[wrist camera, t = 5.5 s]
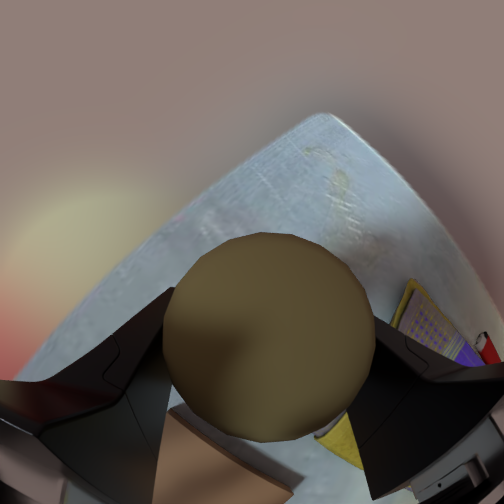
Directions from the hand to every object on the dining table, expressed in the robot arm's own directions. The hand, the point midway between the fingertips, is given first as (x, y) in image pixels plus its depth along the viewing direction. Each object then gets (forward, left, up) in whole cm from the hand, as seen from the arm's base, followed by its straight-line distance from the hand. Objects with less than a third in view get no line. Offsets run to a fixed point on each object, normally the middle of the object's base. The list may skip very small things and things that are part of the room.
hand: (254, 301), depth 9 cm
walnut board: (-7, +14, -11) cm, 19 cm away
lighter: (-28, -16, -12) cm, 35 cm away
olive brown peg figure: (-1, +1, -7) cm, 7 cm away
